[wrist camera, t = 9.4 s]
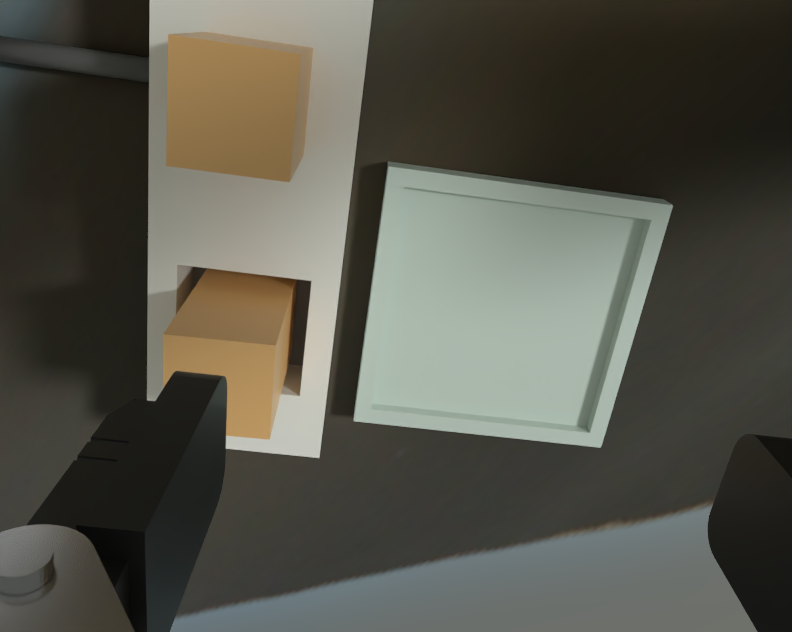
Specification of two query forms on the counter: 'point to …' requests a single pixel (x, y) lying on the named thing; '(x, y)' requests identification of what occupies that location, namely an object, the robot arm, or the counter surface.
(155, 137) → the power strip
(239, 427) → the plug
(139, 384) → the counter surface
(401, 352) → the tray
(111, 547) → the robot arm
